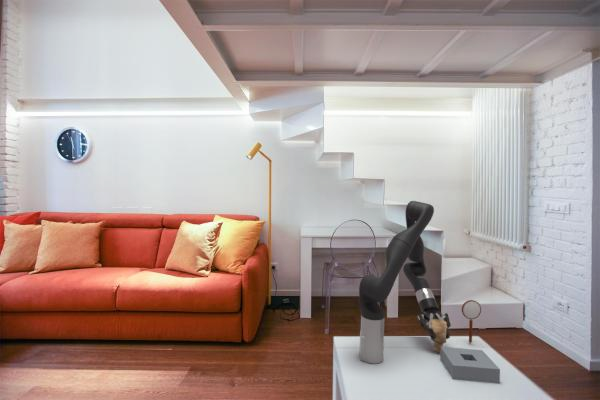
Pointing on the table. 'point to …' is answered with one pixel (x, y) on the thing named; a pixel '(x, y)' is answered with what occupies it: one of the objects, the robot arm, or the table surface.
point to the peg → (439, 333)
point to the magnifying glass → (471, 313)
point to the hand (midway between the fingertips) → (441, 338)
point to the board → (469, 365)
